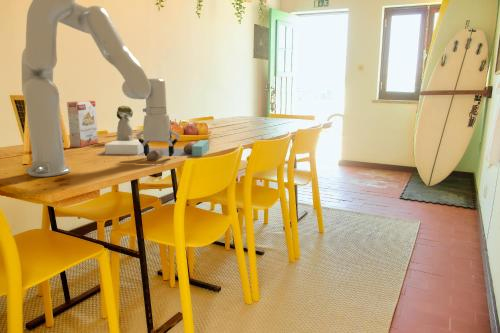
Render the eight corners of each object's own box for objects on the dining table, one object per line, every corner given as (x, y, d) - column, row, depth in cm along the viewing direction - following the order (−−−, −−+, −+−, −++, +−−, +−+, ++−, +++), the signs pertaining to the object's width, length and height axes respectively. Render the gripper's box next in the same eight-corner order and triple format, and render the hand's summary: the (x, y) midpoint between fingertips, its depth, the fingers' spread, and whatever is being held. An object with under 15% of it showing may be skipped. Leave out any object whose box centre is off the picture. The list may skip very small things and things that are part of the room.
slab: (138, 154, 159) (137, 144, 158) (105, 153, 160) (104, 144, 160) (146, 150, 169) (145, 141, 168) (115, 149, 170) (114, 140, 169)
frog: (108, 145, 186) (105, 106, 182) (121, 140, 198) (119, 104, 194) (131, 145, 184) (128, 106, 180) (143, 141, 196) (141, 105, 192)
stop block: (202, 156, 156) (201, 146, 155) (192, 156, 157) (192, 146, 156) (209, 149, 172) (209, 140, 171) (200, 149, 172) (200, 140, 171)
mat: (202, 157, 156) (202, 156, 156) (97, 155, 160) (97, 154, 160) (209, 150, 172) (209, 149, 172) (113, 148, 175) (113, 147, 175)
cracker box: (81, 147, 178) (77, 101, 174) (70, 147, 179) (65, 101, 175) (99, 142, 192) (95, 100, 187) (88, 142, 193) (84, 100, 188)
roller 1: (158, 156, 147) (150, 150, 147) (153, 164, 148) (144, 158, 148) (165, 152, 156) (157, 146, 155) (160, 159, 157) (152, 154, 156)
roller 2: (193, 154, 160) (193, 145, 159) (183, 153, 160) (183, 144, 159) (197, 150, 169) (197, 141, 168) (188, 150, 169) (188, 141, 168)
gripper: (130, 112, 145) (134, 157, 149) (176, 112, 143) (178, 157, 147) (138, 110, 152) (141, 153, 156) (181, 110, 151) (183, 154, 155)
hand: (159, 155), depth 152 cm, fingers open, 9 cm apart
